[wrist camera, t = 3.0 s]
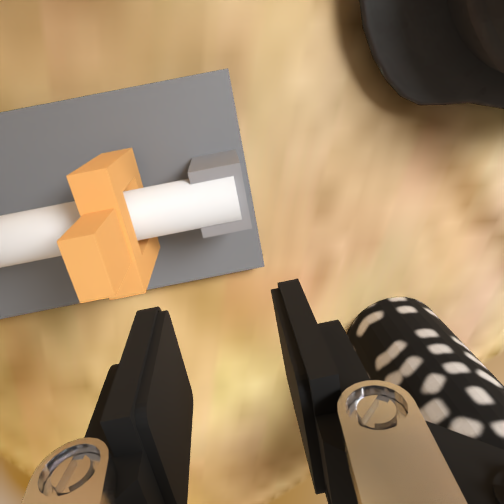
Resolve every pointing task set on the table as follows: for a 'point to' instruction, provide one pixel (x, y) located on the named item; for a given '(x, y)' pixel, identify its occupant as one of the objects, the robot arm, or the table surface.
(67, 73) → the table surface
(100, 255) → the collar
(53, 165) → the pipe rig
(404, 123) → the table surface
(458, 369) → the white-spotted black cylinder
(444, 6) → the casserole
